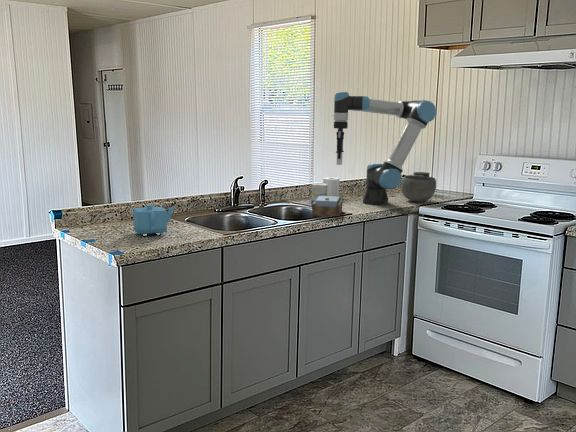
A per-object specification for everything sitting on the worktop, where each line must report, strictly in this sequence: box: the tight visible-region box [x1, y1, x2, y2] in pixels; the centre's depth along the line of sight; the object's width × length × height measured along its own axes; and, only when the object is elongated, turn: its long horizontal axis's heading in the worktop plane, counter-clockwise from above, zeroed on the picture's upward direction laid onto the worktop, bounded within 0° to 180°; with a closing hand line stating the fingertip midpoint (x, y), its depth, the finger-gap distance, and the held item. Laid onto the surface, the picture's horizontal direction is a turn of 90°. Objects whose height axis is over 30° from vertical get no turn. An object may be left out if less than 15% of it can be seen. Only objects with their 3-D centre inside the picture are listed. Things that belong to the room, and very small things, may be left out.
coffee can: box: [412, 171, 430, 177], centre depth 370 cm, size 10×10×14 cm
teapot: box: [132, 204, 178, 235], centre depth 244 cm, size 18×16×13 cm
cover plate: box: [315, 196, 341, 207], centre depth 297 cm, size 11×16×4 cm
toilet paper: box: [322, 176, 340, 197], centre depth 351 cm, size 10×10×12 cm
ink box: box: [310, 182, 328, 206], centre depth 327 cm, size 9×8×12 cm
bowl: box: [400, 174, 437, 203], centre depth 341 cm, size 20×20×15 cm
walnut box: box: [311, 199, 343, 218], centre depth 298 cm, size 14×18×6 cm
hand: (339, 164), depth 309 cm, fingers open, 3 cm apart
